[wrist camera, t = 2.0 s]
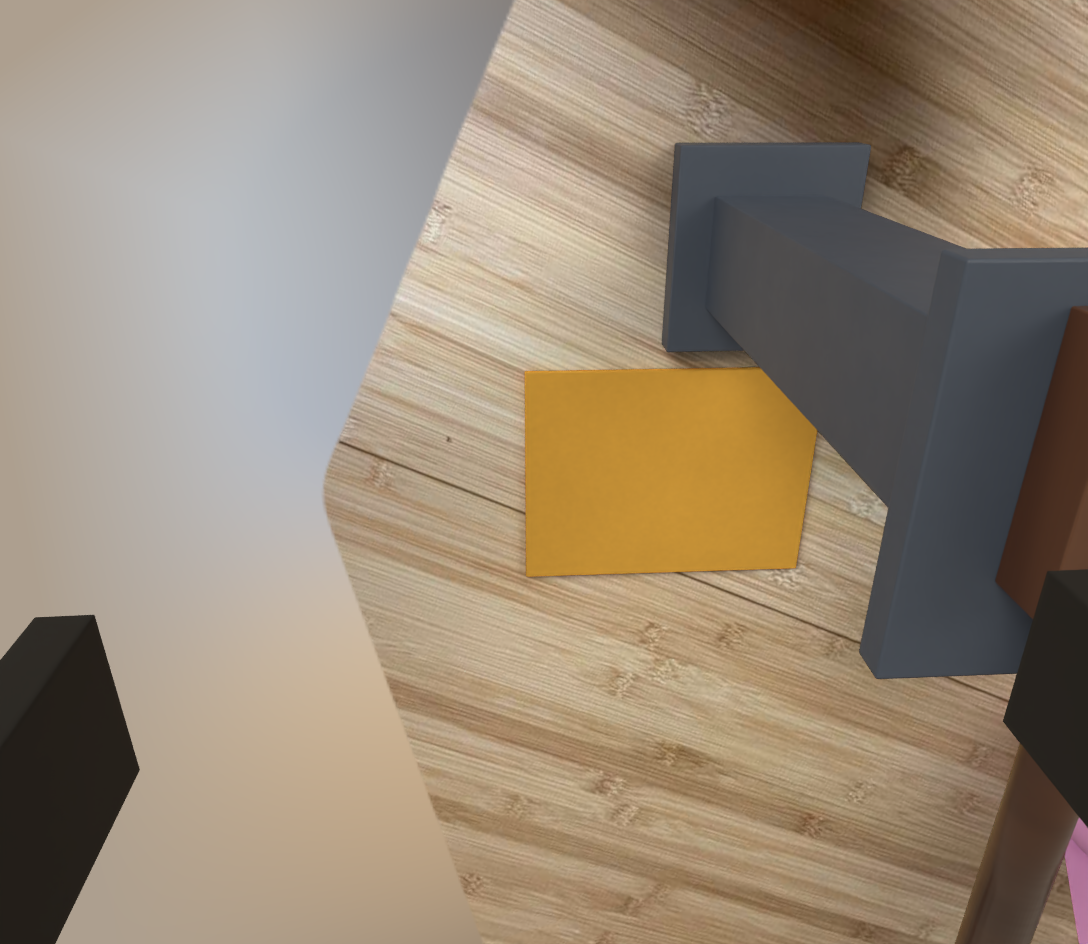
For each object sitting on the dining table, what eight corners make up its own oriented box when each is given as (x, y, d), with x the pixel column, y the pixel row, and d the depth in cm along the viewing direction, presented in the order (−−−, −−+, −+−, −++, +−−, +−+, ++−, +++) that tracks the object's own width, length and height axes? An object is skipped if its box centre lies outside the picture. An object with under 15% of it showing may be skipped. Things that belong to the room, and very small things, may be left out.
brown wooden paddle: (886, 966, 28) (914, 1029, 26) (1070, 305, 18) (1135, 331, 16) (1034, 958, 28) (1072, 1019, 26) (1291, 302, 18) (1379, 328, 17)
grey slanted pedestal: (661, 344, 49) (875, 680, 22) (674, 142, 44) (967, 259, 17) (828, 341, 50) (1235, 666, 23) (859, 142, 45) (1419, 254, 18)
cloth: (526, 573, 55) (526, 577, 55) (524, 371, 49) (524, 373, 49) (794, 565, 56) (796, 568, 56) (824, 365, 50) (827, 368, 50)
